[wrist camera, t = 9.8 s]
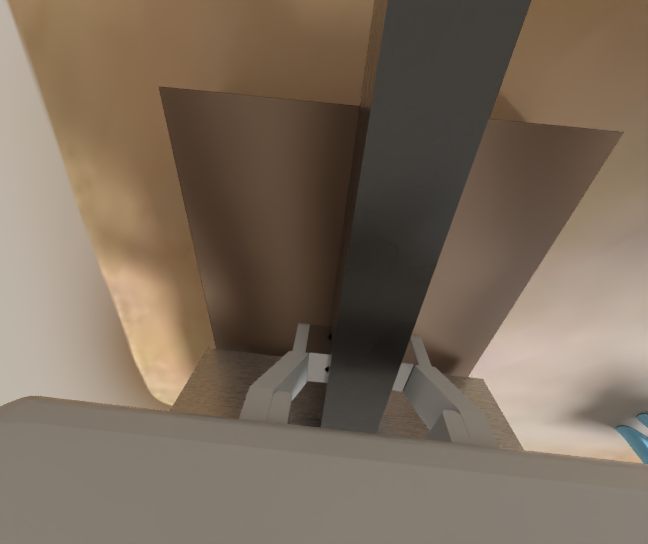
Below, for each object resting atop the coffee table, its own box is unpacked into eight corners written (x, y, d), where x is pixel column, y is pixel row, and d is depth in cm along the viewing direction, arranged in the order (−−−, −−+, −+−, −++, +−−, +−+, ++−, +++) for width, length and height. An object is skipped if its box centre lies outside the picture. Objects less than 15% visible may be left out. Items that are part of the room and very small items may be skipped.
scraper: (129, -84, 7) (-104, -321, 3) (727, -19, 7) (1159, -188, 3) (211, 367, 15) (173, 436, 12) (471, 396, 15) (511, 474, 12)
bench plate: (530, 126, 13) (623, 132, 9) (431, 342, 21) (454, 398, 17) (218, 95, 13) (158, 86, 9) (245, 323, 21) (221, 374, 17)
